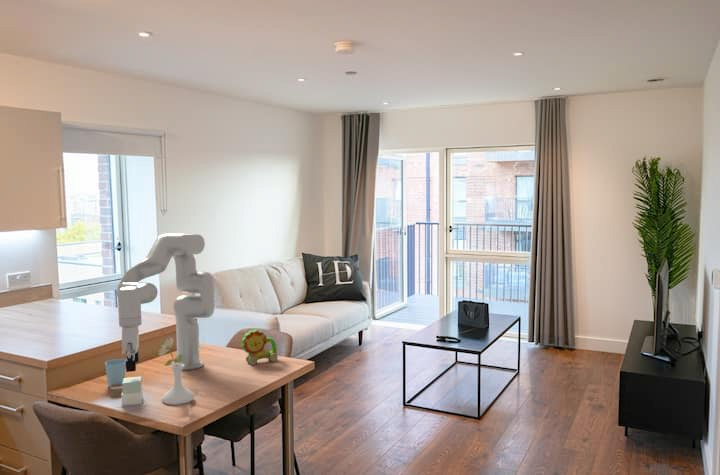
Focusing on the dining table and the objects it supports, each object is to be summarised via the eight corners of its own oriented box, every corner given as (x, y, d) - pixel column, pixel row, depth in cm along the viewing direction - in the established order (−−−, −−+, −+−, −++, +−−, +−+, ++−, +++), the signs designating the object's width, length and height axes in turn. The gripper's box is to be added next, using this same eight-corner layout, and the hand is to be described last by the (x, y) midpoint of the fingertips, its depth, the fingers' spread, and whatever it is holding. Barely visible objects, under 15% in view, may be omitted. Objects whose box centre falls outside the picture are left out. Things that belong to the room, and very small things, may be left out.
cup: (114, 392, 217) (114, 365, 217) (101, 389, 221) (100, 363, 220) (131, 386, 224) (130, 360, 223) (117, 383, 228) (116, 358, 227)
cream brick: (124, 399, 208) (123, 388, 208) (142, 397, 210) (142, 386, 209) (121, 405, 202) (121, 394, 201) (141, 403, 203) (140, 392, 203)
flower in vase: (181, 394, 216) (179, 330, 214) (200, 400, 209) (199, 334, 207) (151, 404, 205) (149, 337, 203) (171, 412, 198) (169, 342, 196)
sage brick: (124, 388, 207) (123, 377, 207) (141, 386, 209) (141, 376, 209) (122, 394, 202) (122, 383, 201) (140, 392, 204) (140, 381, 203)
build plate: (119, 400, 209) (119, 397, 209) (148, 397, 212) (148, 395, 212) (115, 410, 200) (115, 407, 199) (145, 407, 202) (145, 404, 202)
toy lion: (273, 358, 263) (273, 326, 261) (278, 361, 258) (277, 328, 257) (240, 363, 255) (240, 330, 253) (244, 366, 250) (244, 332, 249)
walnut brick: (112, 394, 215) (111, 384, 215) (126, 393, 217) (126, 383, 216) (110, 399, 211) (110, 389, 210) (124, 398, 212) (124, 387, 212)
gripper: (122, 315, 211) (124, 360, 213) (115, 328, 194) (118, 376, 196) (143, 314, 213) (145, 358, 215) (139, 326, 196) (141, 373, 198)
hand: (132, 366), depth 205 cm, fingers open, 9 cm apart
